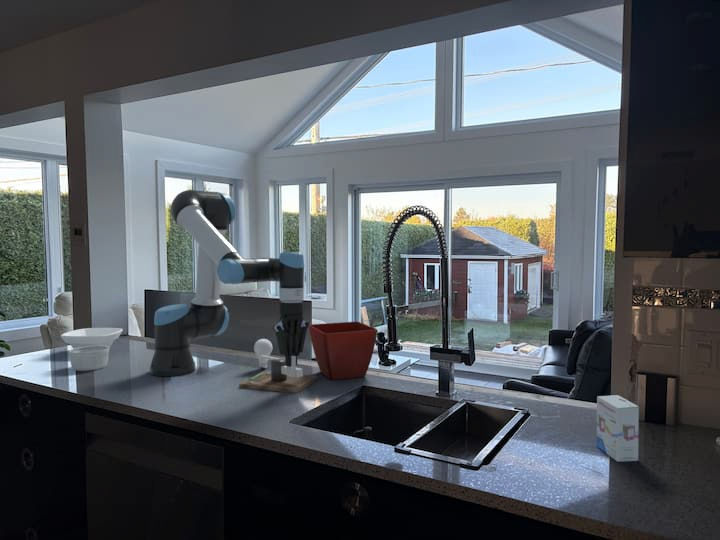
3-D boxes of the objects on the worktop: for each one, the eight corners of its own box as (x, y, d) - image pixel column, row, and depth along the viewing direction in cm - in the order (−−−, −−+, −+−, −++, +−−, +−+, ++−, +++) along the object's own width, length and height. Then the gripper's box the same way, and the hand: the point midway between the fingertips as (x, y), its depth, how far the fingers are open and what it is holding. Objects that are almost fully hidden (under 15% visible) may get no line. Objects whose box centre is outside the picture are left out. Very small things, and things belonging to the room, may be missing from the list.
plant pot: (324, 384, 166) (324, 332, 165) (308, 370, 184) (308, 324, 183) (378, 378, 173) (378, 329, 172) (357, 366, 191) (357, 321, 190)
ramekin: (60, 370, 184) (60, 350, 184) (92, 362, 196) (91, 344, 196) (87, 373, 179) (86, 354, 179) (117, 365, 191) (117, 347, 191)
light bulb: (274, 366, 189) (274, 337, 188) (269, 371, 182) (269, 340, 182) (257, 366, 190) (257, 337, 189) (251, 370, 183) (251, 340, 182)
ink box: (594, 446, 115) (595, 394, 115) (615, 445, 116) (617, 394, 115) (616, 462, 107) (618, 406, 106) (639, 461, 107) (641, 406, 107)
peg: (255, 376, 170) (255, 356, 170) (267, 373, 174) (267, 354, 174) (294, 385, 158) (294, 364, 158) (306, 382, 162) (306, 362, 162)
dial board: (238, 387, 162) (238, 383, 162) (263, 374, 178) (263, 370, 178) (296, 393, 156) (296, 388, 156) (317, 379, 172) (316, 374, 172)
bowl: (105, 357, 204) (104, 336, 204) (53, 357, 204) (53, 336, 204) (129, 347, 225) (128, 327, 224) (82, 346, 225) (82, 327, 225)
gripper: (282, 303, 152) (282, 382, 153) (315, 300, 162) (314, 374, 162) (267, 301, 158) (267, 377, 158) (299, 299, 167) (299, 370, 168)
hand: (291, 376), depth 160 cm, fingers closed
